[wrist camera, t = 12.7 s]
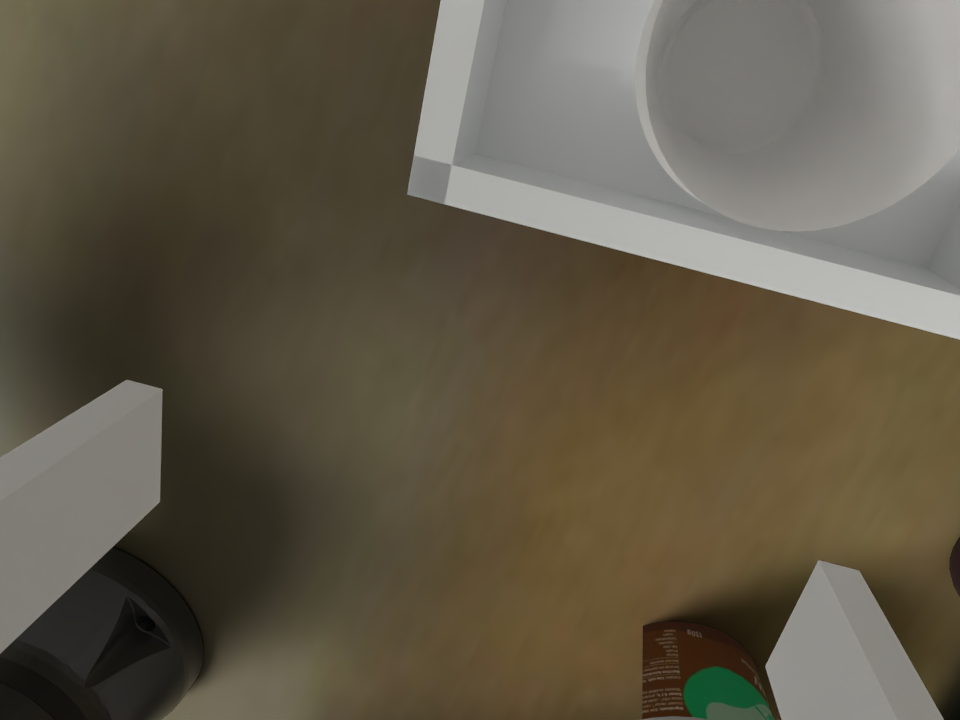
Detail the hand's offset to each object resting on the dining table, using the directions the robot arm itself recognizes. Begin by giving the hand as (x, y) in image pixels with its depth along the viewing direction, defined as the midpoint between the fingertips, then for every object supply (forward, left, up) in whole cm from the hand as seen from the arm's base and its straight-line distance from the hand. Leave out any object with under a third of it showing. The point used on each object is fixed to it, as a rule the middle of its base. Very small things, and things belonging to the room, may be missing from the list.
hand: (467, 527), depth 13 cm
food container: (+16, -22, -23) cm, 36 cm away
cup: (+5, +10, -22) cm, 24 cm away
